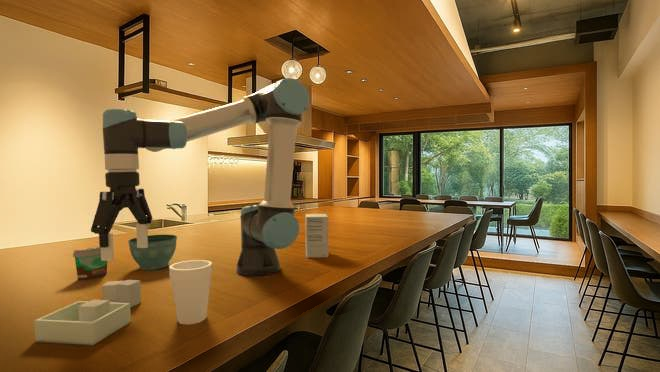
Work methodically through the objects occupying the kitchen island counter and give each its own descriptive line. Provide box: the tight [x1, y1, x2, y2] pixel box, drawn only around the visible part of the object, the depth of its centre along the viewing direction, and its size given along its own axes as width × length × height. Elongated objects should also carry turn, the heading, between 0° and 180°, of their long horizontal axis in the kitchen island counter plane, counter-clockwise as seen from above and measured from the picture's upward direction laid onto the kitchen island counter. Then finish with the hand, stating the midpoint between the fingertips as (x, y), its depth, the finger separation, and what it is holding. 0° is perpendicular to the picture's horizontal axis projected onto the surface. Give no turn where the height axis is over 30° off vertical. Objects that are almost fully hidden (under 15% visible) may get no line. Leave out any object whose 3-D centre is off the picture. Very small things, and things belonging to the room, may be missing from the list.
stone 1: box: [78, 299, 110, 322], centre depth 78 cm, size 4×4×6 cm
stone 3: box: [116, 279, 142, 309], centre depth 95 cm, size 4×4×6 cm
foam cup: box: [168, 259, 213, 325], centre depth 85 cm, size 10×9×13 cm
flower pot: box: [127, 234, 178, 271], centre depth 132 cm, size 16×16×11 cm
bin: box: [34, 300, 132, 346], centre depth 79 cm, size 13×11×4 cm
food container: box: [72, 246, 109, 281], centre depth 121 cm, size 12×6×10 cm, turn 168°
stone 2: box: [101, 280, 124, 303], centre depth 98 cm, size 4×4×5 cm
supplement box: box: [304, 213, 329, 259], centre depth 150 cm, size 10×9×17 cm
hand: (126, 253), depth 92 cm, fingers open, 13 cm apart
